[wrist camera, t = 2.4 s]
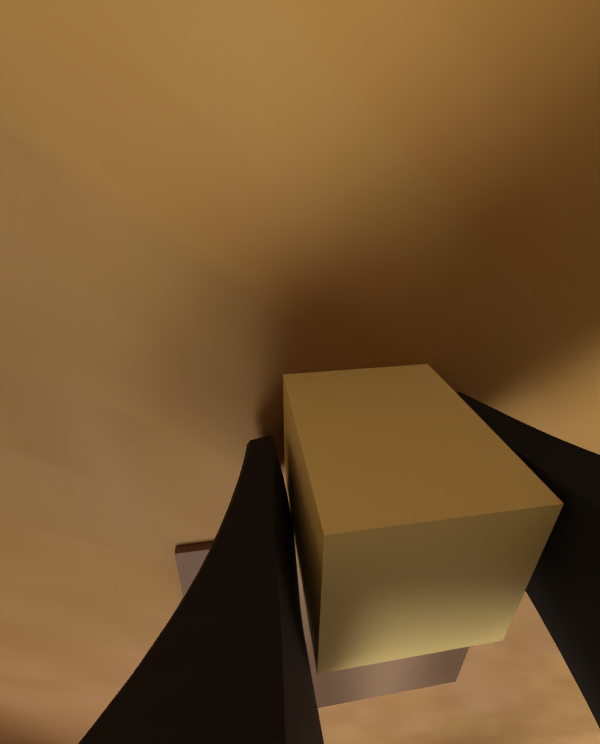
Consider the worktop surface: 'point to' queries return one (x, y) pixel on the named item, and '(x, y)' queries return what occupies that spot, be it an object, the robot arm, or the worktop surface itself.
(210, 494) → the worktop surface
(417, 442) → the ochre block
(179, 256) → the worktop surface
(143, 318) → the worktop surface
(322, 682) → the walnut base
